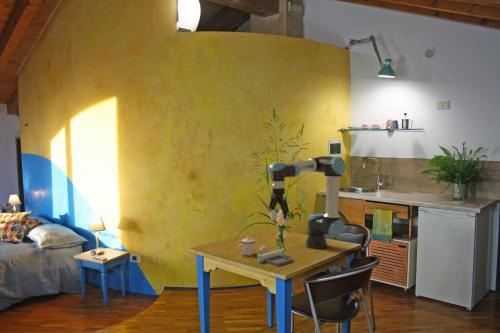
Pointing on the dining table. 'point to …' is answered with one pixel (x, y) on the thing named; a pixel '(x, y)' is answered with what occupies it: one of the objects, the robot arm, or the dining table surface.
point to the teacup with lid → (247, 246)
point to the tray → (278, 260)
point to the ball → (263, 250)
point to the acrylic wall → (270, 255)
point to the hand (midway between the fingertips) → (278, 221)
